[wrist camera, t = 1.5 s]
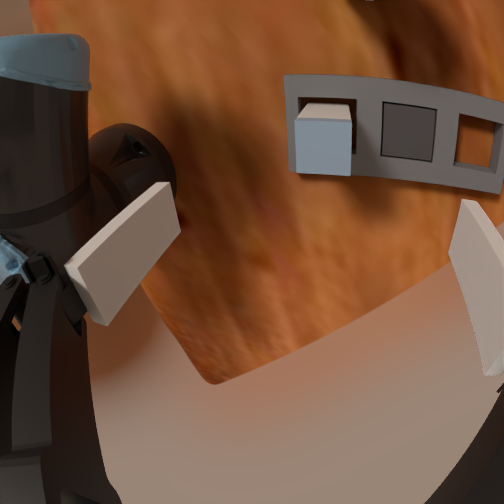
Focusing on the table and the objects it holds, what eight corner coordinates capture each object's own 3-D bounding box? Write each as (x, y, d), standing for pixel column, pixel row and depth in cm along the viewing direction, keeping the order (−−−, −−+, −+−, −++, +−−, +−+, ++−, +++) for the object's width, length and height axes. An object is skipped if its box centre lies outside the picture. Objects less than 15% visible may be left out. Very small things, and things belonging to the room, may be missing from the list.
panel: (291, 165, 32) (288, 171, 31) (286, 74, 26) (283, 75, 25) (493, 187, 26) (500, 194, 24) (505, 103, 20) (514, 106, 19)
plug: (309, 139, 30) (296, 172, 22) (308, 102, 28) (294, 120, 20) (347, 141, 29) (350, 176, 21) (348, 103, 27) (351, 122, 19)
